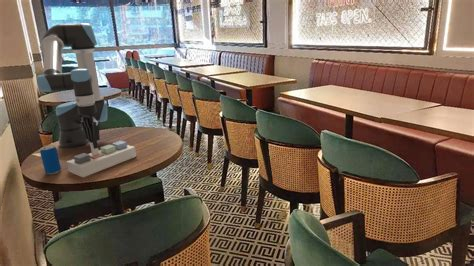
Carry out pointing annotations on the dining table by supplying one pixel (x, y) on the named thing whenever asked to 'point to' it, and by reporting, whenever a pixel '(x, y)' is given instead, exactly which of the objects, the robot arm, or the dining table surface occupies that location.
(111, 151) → the sage key
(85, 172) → the keypad
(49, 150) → the beverage can
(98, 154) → the terracotta key
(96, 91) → the robot arm
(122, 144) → the slate key
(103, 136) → the dining table surface
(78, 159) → the charcoal key
